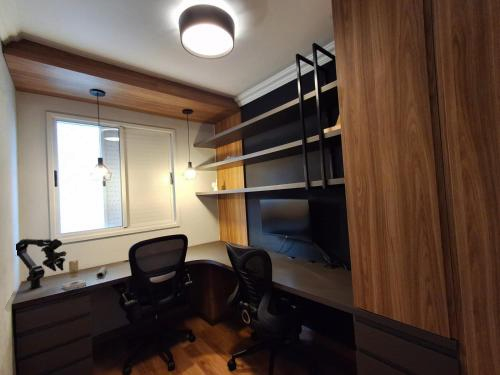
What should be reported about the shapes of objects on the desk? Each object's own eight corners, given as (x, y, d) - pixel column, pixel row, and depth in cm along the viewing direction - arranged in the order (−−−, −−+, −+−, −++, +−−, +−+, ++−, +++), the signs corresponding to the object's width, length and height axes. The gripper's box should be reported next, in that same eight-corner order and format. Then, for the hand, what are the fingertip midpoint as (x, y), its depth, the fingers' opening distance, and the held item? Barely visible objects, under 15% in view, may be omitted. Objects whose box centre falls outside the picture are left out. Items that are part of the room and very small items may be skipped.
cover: (67, 277, 181) (66, 261, 182) (77, 275, 186) (77, 259, 187) (70, 278, 177) (69, 262, 178) (80, 276, 182) (80, 260, 183)
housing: (61, 287, 180) (61, 284, 180) (80, 282, 190) (80, 279, 190) (67, 290, 173) (67, 287, 173) (86, 285, 182) (86, 282, 183)
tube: (99, 267, 221) (95, 274, 198) (106, 264, 223) (102, 271, 200) (102, 272, 221) (97, 280, 198) (108, 270, 223) (104, 276, 201)
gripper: (54, 246, 177) (63, 264, 175) (67, 247, 195) (76, 264, 193) (37, 255, 174) (47, 274, 172) (53, 255, 192) (62, 272, 190)
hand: (59, 270), depth 182 cm, fingers open, 9 cm apart
